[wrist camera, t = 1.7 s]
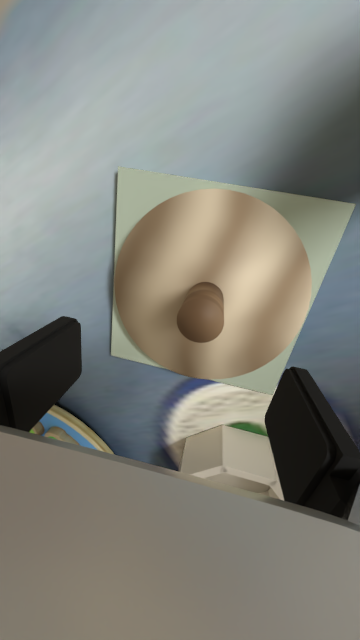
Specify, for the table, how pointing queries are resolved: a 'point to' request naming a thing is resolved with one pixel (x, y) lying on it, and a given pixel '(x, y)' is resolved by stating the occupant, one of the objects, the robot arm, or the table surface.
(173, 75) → the table surface
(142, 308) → the lid
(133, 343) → the mat
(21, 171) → the table surface
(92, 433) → the shape sorting clock
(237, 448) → the bowl
